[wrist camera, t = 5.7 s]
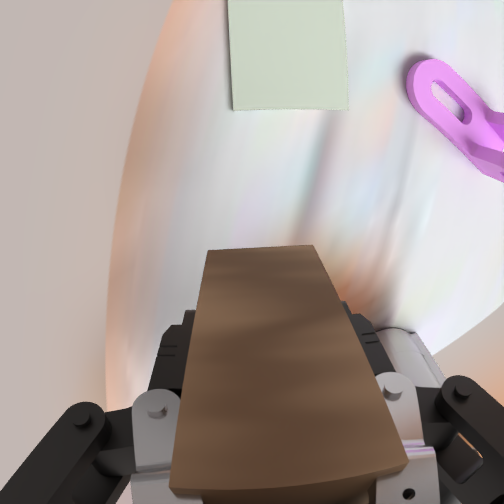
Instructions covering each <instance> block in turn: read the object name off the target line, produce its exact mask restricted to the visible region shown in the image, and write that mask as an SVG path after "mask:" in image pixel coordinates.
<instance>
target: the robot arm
mask: <svg viewBox="0 0 504 504" xmlns="http://www.w3.org/2000/svg"><path fill="white" fill-rule="evenodd" d="M341 303H342V305H343V307H344V309H345V311H346V313H347V315H348V318H349V320H350V322H351V324H352V326H353V328H354V331H355V333H356V335H357V337H358V339H359V342H360V344H361V346H362V348H363V350H364V353H365V355H366V357H367V359H368V362H369V364H370V366H371V368H372V371H373V373H374V375H375V378H376V380H377V382H378V385H379V387H380V389H381V392H382V394H383V397H384V399H385V401H386V404H387V406H388V409H389V411H390V414H391V416H392V418H393V421H394V423H395V426H396V428H397V431H398V434H399V436H400V439H401V441H402V444H403V446H404V449H405V452H406V454H407V457H408V460H409V463H408V465H407V466H406V467H405V469H404V470H400V471H397V472H393V473H390V474H386V475H382V476H379V477H376V479H375V480H374V482H373V483H372V484H371V486H370V487H369V489H368V490H367V492H368V496H369V504H461V503H462V504H504V407H503V406H502V405H501V404H500V403H498V402H497V401H496V400H495V399H494V398H493V397H492V396H491V395H489V394H488V393H487V392H486V391H485V390H484V389H483V388H481V387H480V386H479V385H478V384H477V383H476V382H475V381H473V380H472V379H470V378H468V377H465V376H460V375H456V376H452V377H449V378H447V379H446V378H445V376H444V374H443V373H442V371H441V370H440V368H439V366H438V365H437V363H436V362H435V360H434V359H433V357H432V355H431V354H430V352H429V351H428V349H427V348H426V346H425V345H424V343H423V342H422V340H421V339H420V337H419V336H418V334H417V333H414V334H409V333H408V332H406V331H404V330H402V329H396V328H390V329H384V330H381V331H378V332H375V330H374V328H373V326H372V324H371V323H370V321H368V320H367V319H366V318H365V317H363V316H362V315H361V314H352V313H351V311H350V309H349V307H348V305H347V303H346V302H345V301H341ZM195 313H196V310H186V311H185V314H184V318H183V323H182V325H171V326H170V327H169V328H168V329H167V330H166V332H165V333H164V334H163V336H162V339H161V343H160V348H159V350H158V353H157V357H156V361H155V364H154V368H153V372H152V375H151V379H150V383H149V387H148V390H147V392H145V393H143V394H141V395H140V396H139V397H138V398H137V399H136V400H135V401H134V403H133V406H132V407H129V408H126V409H122V410H116V411H111V412H105V413H104V411H103V410H102V408H101V407H99V406H98V405H97V404H94V403H92V402H80V403H77V404H75V405H72V406H71V407H70V408H68V409H67V410H66V411H65V413H64V414H63V415H62V416H61V417H60V418H59V420H58V421H57V422H56V423H55V424H54V426H53V427H52V428H51V429H50V430H49V432H48V433H47V434H46V435H45V436H44V438H43V439H42V440H41V441H40V442H39V444H38V445H37V446H36V447H35V449H34V450H33V451H32V452H31V453H30V455H29V456H28V457H27V458H26V460H25V461H24V462H23V463H22V465H21V466H20V467H19V468H18V470H17V471H16V472H15V473H14V475H13V476H12V477H11V478H10V480H9V481H8V482H7V484H6V485H5V486H4V488H3V489H2V490H1V491H0V504H116V502H117V500H118V499H119V497H120V495H121V494H122V493H123V491H124V489H125V488H126V486H127V485H128V483H129V481H131V492H132V500H133V504H205V502H204V500H203V498H202V497H201V495H191V494H177V493H172V491H171V490H170V488H169V487H168V486H169V478H170V470H171V462H172V455H173V448H174V440H175V433H176V426H177V420H178V413H179V406H180V400H181V394H182V387H183V381H184V375H185V369H186V363H187V357H188V352H189V346H190V340H191V335H192V329H193V324H194V318H195ZM477 451H478V452H479V453H480V454H481V455H482V457H483V458H481V457H480V456H479V454H478V452H477Z"/></svg>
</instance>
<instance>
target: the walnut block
mask: <svg viewBox="0 0 504 504" xmlns="http://www.w3.org/2000/svg"><path fill="white" fill-rule="evenodd" d="M408 463H409V460H408V457H407V454H406V452H405V449H404V446H403V444H402V441H401V439H400V436H399V434H398V431H397V428H396V426H395V423H394V421H393V418H392V416H391V414H390V411H389V409H388V406H387V404H386V401H385V399H384V397H383V394H382V392H381V389H380V387H379V385H378V382H377V380H376V378H375V375H374V373H373V371H372V368H371V366H370V364H369V362H368V359H367V357H366V355H365V353H364V350H363V348H362V346H361V344H360V342H359V339H358V337H357V335H356V333H355V331H354V328H353V326H352V324H351V322H350V320H349V318H348V315H347V313H346V311H345V309H344V307H343V305H342V303H341V301H340V299H339V297H338V294H337V292H336V290H335V288H334V286H333V284H332V282H331V280H330V278H329V276H328V274H327V272H326V270H325V268H324V266H323V264H322V262H321V260H320V258H319V256H318V254H317V252H316V250H315V248H314V246H313V245H299V246H280V247H261V248H242V249H223V250H208V252H207V257H206V262H205V267H204V272H203V277H202V282H201V287H200V292H199V297H198V302H197V308H196V313H195V318H194V324H193V329H192V335H191V340H190V346H189V352H188V357H187V363H186V369H185V375H184V381H183V387H182V394H181V400H180V406H179V413H178V420H177V426H176V433H175V440H174V448H173V455H172V462H171V470H170V478H169V486H168V487H169V488H170V490H171V491H172V493H177V494H191V495H201V497H202V498H203V500H204V502H205V504H369V496H368V492H367V490H368V489H369V487H370V486H371V484H372V483H373V482H374V480H375V479H376V477H379V476H382V475H386V474H390V473H393V472H397V471H400V470H404V469H405V467H406V466H407V465H408Z"/></svg>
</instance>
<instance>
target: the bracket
mask: <svg viewBox="0 0 504 504" xmlns="http://www.w3.org/2000/svg"><path fill="white" fill-rule="evenodd" d="M433 81H435V82H436V83H437V84H438V85H439V86H440V87H441V88H443V89H444V90H445V91H446V92H447V93H448V94H449V95H450V96H451V97H452V98H453V99H454V100H455V101H456V102H457V103H458V104H459V105H460V106H461V107H462V108H463V110H464V119H463V121H462V122H460V121H459V120H458V119H457V118H456V117H455V116H454V115H453V114H452V113H451V112H450V111H449V110H448V109H447V108H446V107H445V106H444V105H443V104H442V103H441V102H440V101H438V100H437V99H436V98H435V97H434V96H433V94H432V91H431V84H432V82H433ZM406 89H407V94H408V97H409V100H410V102H411V104H412V105H413V107H414V108H415V109H416V111H417V112H418V113H420V114H421V115H422V116H423V117H424V118H425V119H427V120H428V121H429V122H430V123H431V124H432V125H433V126H435V127H436V128H437V129H438V130H439V131H440V132H441V133H442V134H443V135H445V136H446V137H447V138H448V139H449V140H450V141H451V142H452V143H453V144H454V145H455V146H456V147H457V148H458V149H459V150H460V151H461V152H462V153H463V154H464V155H465V156H466V157H467V158H468V159H469V160H470V161H471V162H472V163H473V164H474V165H475V166H476V167H477V168H478V169H479V170H480V171H481V172H482V174H485V175H487V176H490V177H492V178H494V179H497V180H499V181H501V182H503V183H504V152H502V151H503V149H504V113H500V112H495V111H492V110H491V109H490V108H489V107H488V106H487V105H486V104H485V103H484V101H483V100H482V99H481V98H480V97H479V96H478V95H477V94H476V93H475V91H474V90H473V89H472V88H471V87H470V86H469V85H468V84H467V83H466V82H465V81H464V80H463V79H462V78H461V77H460V76H459V75H458V74H457V73H456V72H455V71H454V70H453V69H452V68H451V67H450V66H449V65H448V64H446V63H445V62H443V61H440V60H437V59H429V60H422V61H419V62H417V63H415V64H414V65H413V66H412V67H411V68H410V70H409V72H408V75H407V79H406Z"/></svg>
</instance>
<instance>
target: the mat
mask: <svg viewBox="0 0 504 504" xmlns="http://www.w3.org/2000/svg"><path fill="white" fill-rule="evenodd" d="M228 16H229V37H230V58H231V77H232V96H233V111H241V110H265V109H326V110H349V97H348V67H347V48H346V34H345V21H344V10H343V0H228Z"/></svg>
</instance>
